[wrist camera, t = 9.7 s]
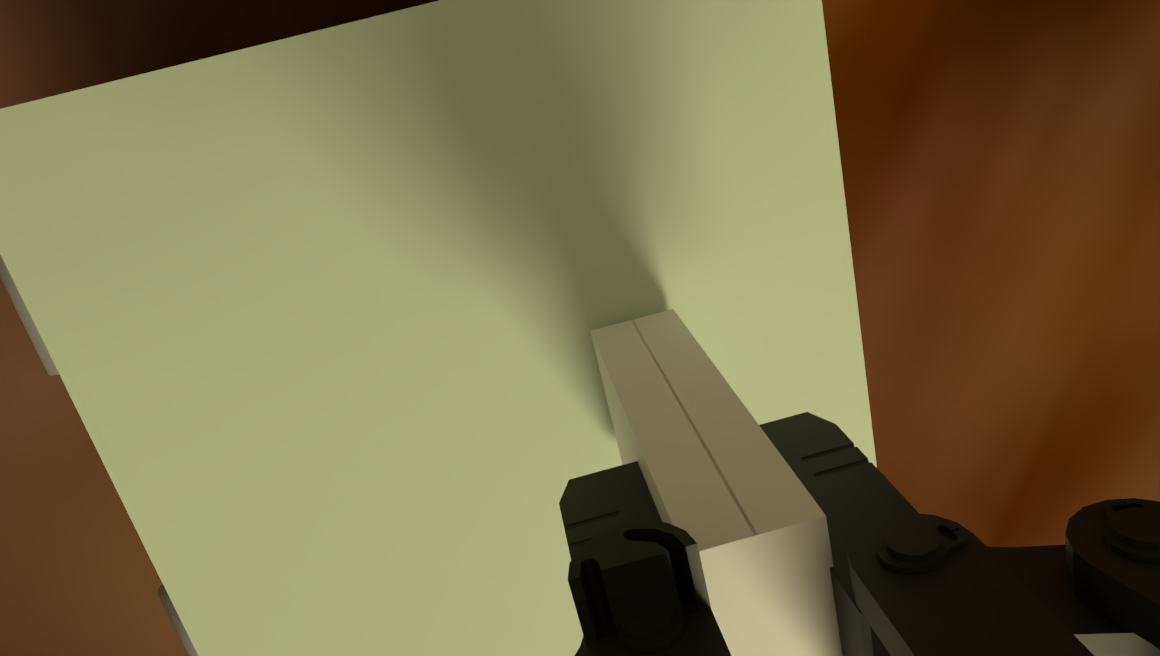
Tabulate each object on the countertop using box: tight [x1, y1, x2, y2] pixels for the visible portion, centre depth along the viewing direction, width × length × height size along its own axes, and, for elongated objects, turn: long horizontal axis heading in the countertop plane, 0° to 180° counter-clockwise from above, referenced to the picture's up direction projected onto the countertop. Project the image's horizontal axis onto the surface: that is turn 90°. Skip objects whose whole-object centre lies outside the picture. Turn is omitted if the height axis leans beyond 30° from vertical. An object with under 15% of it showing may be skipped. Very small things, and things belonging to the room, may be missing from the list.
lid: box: [0, 0, 877, 656], centre depth 16 cm, size 14×14×1 cm
